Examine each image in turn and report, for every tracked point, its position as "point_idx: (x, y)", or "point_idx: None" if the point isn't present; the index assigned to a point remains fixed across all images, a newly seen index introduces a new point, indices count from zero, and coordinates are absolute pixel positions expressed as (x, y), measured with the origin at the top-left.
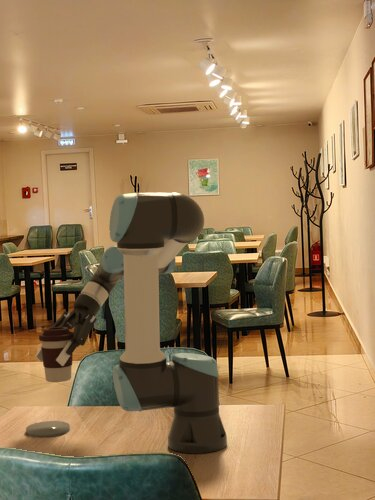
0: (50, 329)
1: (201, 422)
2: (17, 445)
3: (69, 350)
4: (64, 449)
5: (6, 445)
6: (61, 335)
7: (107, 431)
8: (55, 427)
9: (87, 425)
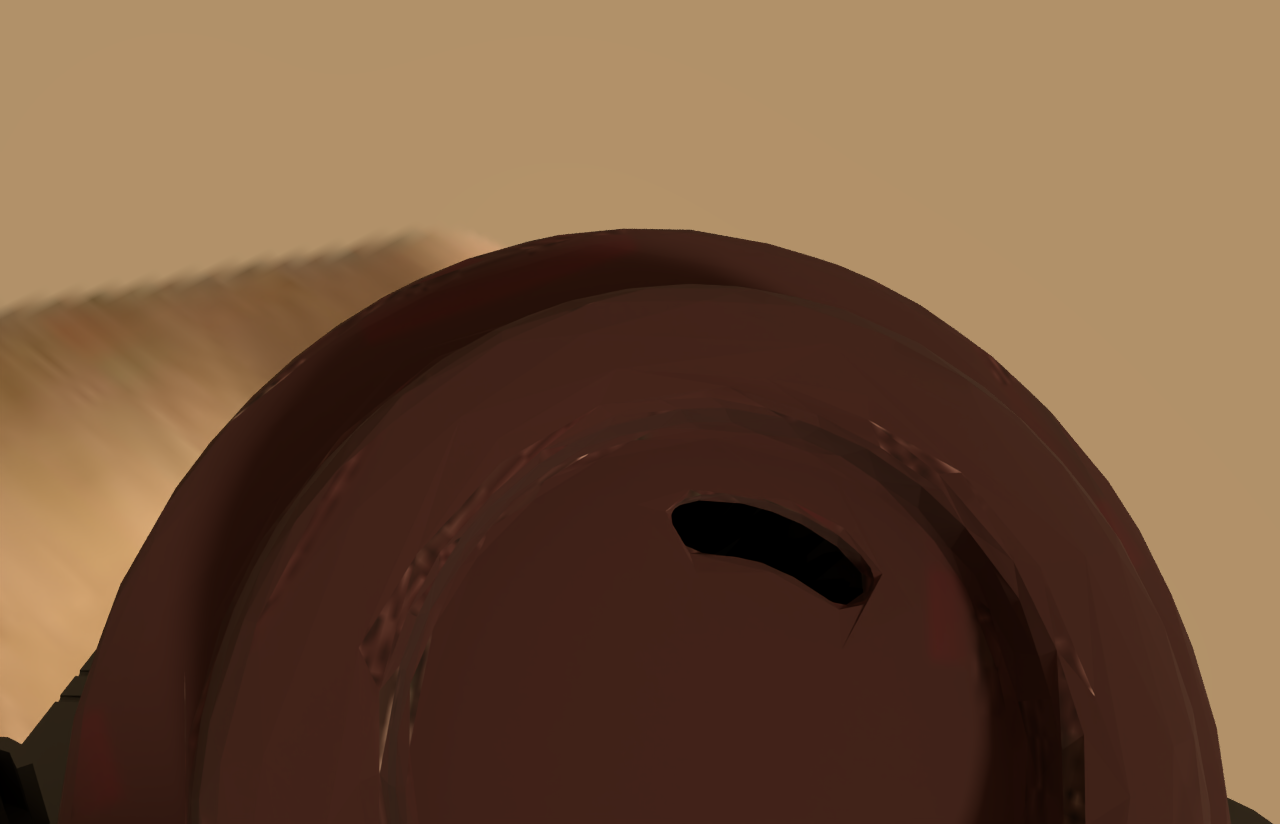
0: (1021, 664)
1: None
2: (408, 264)
3: (92, 655)
4: (91, 365)
5: (461, 233)
6: (200, 555)
7: None
8: None
9: None
